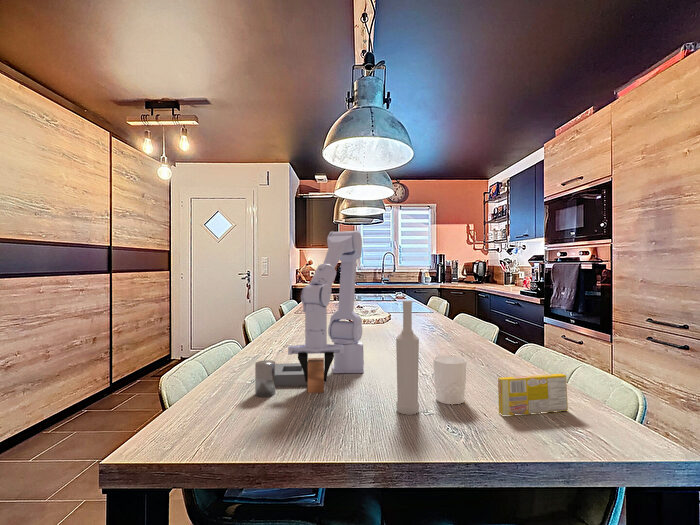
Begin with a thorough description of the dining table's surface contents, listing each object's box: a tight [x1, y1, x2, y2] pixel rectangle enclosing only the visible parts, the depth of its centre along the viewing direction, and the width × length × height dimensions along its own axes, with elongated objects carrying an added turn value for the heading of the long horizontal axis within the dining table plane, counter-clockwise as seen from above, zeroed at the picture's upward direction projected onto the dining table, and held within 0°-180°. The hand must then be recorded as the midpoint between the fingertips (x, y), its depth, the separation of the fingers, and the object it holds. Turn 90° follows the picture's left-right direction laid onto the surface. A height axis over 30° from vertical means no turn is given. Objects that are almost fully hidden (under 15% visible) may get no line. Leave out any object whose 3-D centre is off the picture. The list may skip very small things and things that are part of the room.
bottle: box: [395, 299, 420, 416], centre depth 83 cm, size 5×5×25 cm
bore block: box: [275, 362, 308, 387], centre depth 107 cm, size 12×12×3 cm
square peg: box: [307, 357, 325, 394], centre depth 98 cm, size 4×4×8 cm
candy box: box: [497, 373, 569, 415], centre depth 82 cm, size 16×2×8 cm, turn 100°
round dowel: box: [254, 359, 276, 398], centre depth 95 cm, size 5×5×8 cm
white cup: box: [433, 355, 467, 406], centre depth 90 cm, size 8×8×10 cm
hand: (315, 380), depth 98 cm, fingers closed on square peg, 4 cm apart
